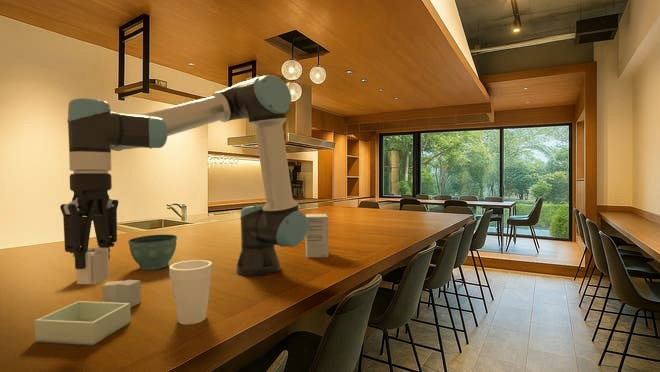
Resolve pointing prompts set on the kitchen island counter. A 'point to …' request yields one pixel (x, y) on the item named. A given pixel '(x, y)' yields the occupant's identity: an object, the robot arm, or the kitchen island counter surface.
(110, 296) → the stone
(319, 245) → the supplement box
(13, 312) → the kitchen island counter surface
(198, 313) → the foam cup
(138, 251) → the flower pot
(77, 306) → the bin
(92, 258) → the stone
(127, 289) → the stone
